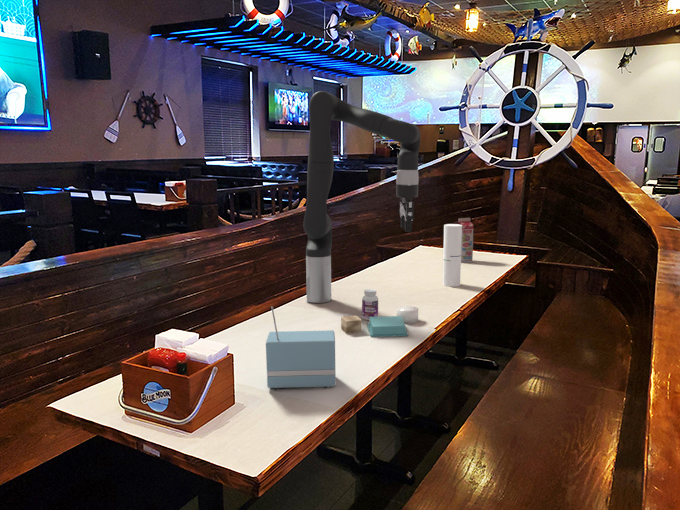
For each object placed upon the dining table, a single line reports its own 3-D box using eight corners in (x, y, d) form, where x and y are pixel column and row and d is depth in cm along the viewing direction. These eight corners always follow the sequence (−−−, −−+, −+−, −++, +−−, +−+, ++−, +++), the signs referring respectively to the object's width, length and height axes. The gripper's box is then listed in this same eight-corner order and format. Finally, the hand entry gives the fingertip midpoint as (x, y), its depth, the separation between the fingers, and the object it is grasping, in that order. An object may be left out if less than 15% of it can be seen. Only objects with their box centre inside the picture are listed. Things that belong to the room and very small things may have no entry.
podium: (370, 336, 160) (370, 327, 159) (367, 325, 171) (367, 316, 170) (407, 336, 160) (408, 326, 160) (402, 324, 171) (402, 315, 171)
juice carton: (454, 260, 274) (455, 217, 270) (465, 259, 276) (466, 217, 272) (460, 262, 268) (461, 219, 264) (472, 261, 270) (473, 218, 266)
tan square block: (346, 334, 163) (346, 321, 163) (341, 329, 168) (341, 317, 167) (361, 332, 165) (361, 319, 164) (356, 327, 169) (356, 315, 169)
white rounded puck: (398, 324, 172) (398, 312, 172) (395, 317, 179) (395, 306, 178) (420, 323, 173) (420, 311, 172) (416, 317, 179) (416, 305, 179)
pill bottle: (364, 321, 175) (364, 292, 173) (360, 316, 180) (359, 288, 178) (380, 319, 177) (380, 291, 175) (375, 315, 182) (375, 287, 180)
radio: (334, 374, 133) (333, 296, 130) (335, 390, 124) (334, 306, 121) (271, 376, 133) (268, 297, 129) (267, 391, 124) (264, 308, 120)
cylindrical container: (460, 287, 219) (462, 226, 214) (442, 286, 220) (443, 226, 216) (459, 283, 226) (461, 224, 221) (442, 282, 227) (444, 223, 222)
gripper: (393, 182, 190) (392, 227, 193) (399, 184, 176) (398, 233, 179) (414, 182, 191) (412, 227, 194) (422, 184, 177) (420, 233, 180)
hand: (406, 230), depth 187 cm, fingers open, 8 cm apart
